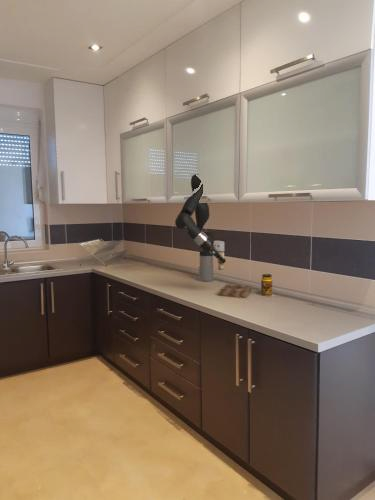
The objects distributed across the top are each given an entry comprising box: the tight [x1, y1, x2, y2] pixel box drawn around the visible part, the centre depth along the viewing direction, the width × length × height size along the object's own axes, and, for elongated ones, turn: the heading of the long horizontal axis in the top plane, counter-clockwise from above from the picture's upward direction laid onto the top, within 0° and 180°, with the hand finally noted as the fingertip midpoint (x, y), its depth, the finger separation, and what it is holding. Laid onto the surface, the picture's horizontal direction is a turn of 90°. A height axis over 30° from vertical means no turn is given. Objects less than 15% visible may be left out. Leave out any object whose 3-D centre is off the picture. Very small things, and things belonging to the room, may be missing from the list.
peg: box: [217, 251, 225, 271], centre depth 225 cm, size 4×4×10 cm
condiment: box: [258, 273, 276, 298], centre depth 223 cm, size 7×8×12 cm
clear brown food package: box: [219, 284, 253, 299], centre depth 225 cm, size 15×14×4 cm
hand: (224, 261), depth 225 cm, fingers closed on peg, 3 cm apart
